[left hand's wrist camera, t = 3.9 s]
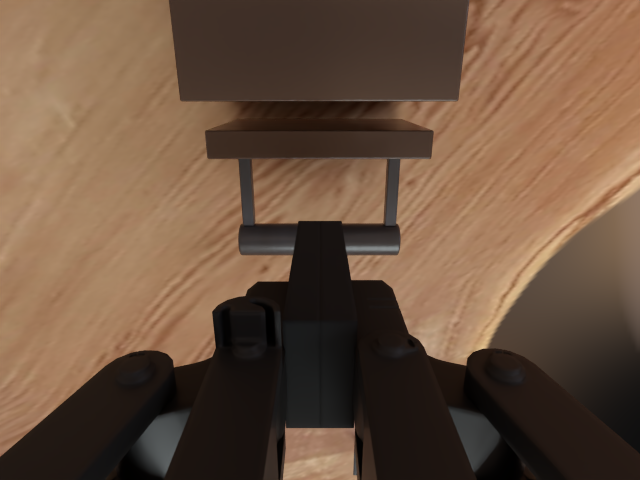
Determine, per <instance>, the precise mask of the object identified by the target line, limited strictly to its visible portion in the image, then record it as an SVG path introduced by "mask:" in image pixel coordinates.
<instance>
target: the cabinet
mask: <svg viewBox="0 0 640 480" xmlns="http://www.w3.org/2000/svg"><path fill="white" fill-rule="evenodd" d="M169 4H170V13H171V22H172V31H173V40H174V49H175V57H176V66H177V75H178V84H179V93H180V100H181V101H458V98H459V89H460V80H461V71H462V62H463V53H464V44H465V35H466V26H467V17H468V7H469V0H169Z"/></svg>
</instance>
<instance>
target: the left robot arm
mask: <svg viewBox="0 0 640 480" xmlns="http://www.w3.org/2000/svg"><path fill="white" fill-rule="evenodd" d="M212 314H213V324H214V333H215V343H216V349H215V352H214V354H213V357H211V358H209V359H207V360H204V361H201V362H197V363H194V364H189V365H184V366H179V367H175V368H174V365H173V360H172V359H171V358H170V357H169V356H168V355H167V354H165V353H162V352H159V351H146V350H144V351H139V352H133V353H130V354H127V355H125V356H122V357H120V358H117V359H115V360H114V361H112V362H111V363H109V364H108V365H106V366H105V367H104V368H103V369H102V370H100V371H99V372H98V373H97V374H96V375H95V376H93V377H92V378H91V379H90V380H89V381H88V382H86V383H85V384H84V385H83V386H82V387H81V388H80V389H78V390H77V391H76V392H75V393H74V394H73V395H71V396H70V397H69V398H68V399H67V400H66V401H64V402H63V403H62V404H61V405H60V406H59V407H58V408H56V409H55V410H54V411H53V412H52V413H51V414H49V415H48V416H47V417H46V418H45V419H44V420H43V421H41V422H40V423H39V424H38V425H37V426H36V427H34V428H33V429H32V430H31V431H30V432H29V433H27V434H26V435H25V436H24V437H23V438H22V439H21V440H19V441H18V442H17V443H16V444H15V445H14V446H12V447H11V448H10V449H9V450H8V451H7V452H5V453H4V454H3V455H2V456H1V457H0V480H283V470H284V460H285V449H286V446H285V423H286V428H354V421H355V446H354V473H353V475H357V480H640V454H639V453H638V452H637V451H636V450H635V449H633V448H632V447H631V446H630V445H629V444H627V443H626V442H625V441H624V440H623V439H622V438H621V437H619V436H618V435H617V434H616V433H615V432H614V431H612V430H611V429H610V428H609V427H608V426H607V425H605V424H604V423H603V422H602V421H601V420H600V419H598V418H597V417H596V416H595V415H594V414H593V413H591V412H590V411H589V410H588V409H587V408H586V407H584V406H583V405H582V404H581V403H580V402H579V401H577V400H576V399H575V398H574V397H573V396H572V395H570V394H569V393H568V392H567V391H566V390H565V389H563V388H562V387H561V386H560V385H559V384H558V383H556V382H555V381H554V380H553V379H552V378H551V377H549V376H548V375H547V374H546V373H545V372H544V371H542V370H541V369H540V368H539V367H538V366H537V365H535V364H534V363H532V362H531V361H529V360H528V359H526V358H525V357H523V356H521V355H518V354H516V353H513V352H511V351H507V350H502V349H481V350H478V351H475V352H473V353H472V354H471V355H470V356H469V357H468V359H467V365H466V366H465V365H460V364H455V363H450V362H445V361H442V360H438V359H435V358H433V357H431V356H428V355H427V354H426V351H425V349H424V347H423V345H422V344H421V343H420V341H419V340H418V339H416V338H415V337H413V336H411V335H410V334H409V333H408V330H407V327H406V325H405V322H404V319H403V316H402V314H401V311H400V309H399V305H398V303H397V300H396V297H395V294H394V292H393V289H392V288H391V287H390V286H388V285H387V284H386V283H385V282H384V281H382V280H351V277H350V271H349V264H348V258H347V252H346V246H345V240H344V234H343V228H342V222H341V221H299V222H298V228H297V234H296V240H295V246H294V252H293V258H292V264H291V271H290V277H289V282H257V283H256V284H255V285H253V286H252V287H251V288H250V289H248V291H247V293H246V296H243V297H237V298H233V299H230V300H227V301H225V302H223V303H221V304H219V305H218V306H217V307H216V308H215V309H214V310H213V312H212Z"/></svg>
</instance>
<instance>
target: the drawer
mask: <svg viewBox="0 0 640 480" xmlns="http://www.w3.org/2000/svg"><path fill="white" fill-rule="evenodd" d="M433 133H434V132H433V131H432V130H429V129H427V128H424V127H421V126H419V125H416V124H413V123H411V122H408V121H405V120H402V119H236V120H234V121H231V122H228V123H226V124H223V125H220V126H217V127H215V128H212V129H209V130H206V131H205V137H206V148H207V158H208V159H239V172H240V187H241V201H242V216H243V224H241V225H240V228H239V238H238V241H239V250H240V253H241V255H293V252H294V246H295V240H296V234H297V228H298V224H255V207H254V190H253V172H252V159H387V169H386V186H385V204H384V224H342V228H343V234H344V240H345V246H346V252H347V255H398V253H399V250H400V229H399V225H398V224H396V215H397V201H398V186H399V171H400V159H431V154H432V144H433Z"/></svg>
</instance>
